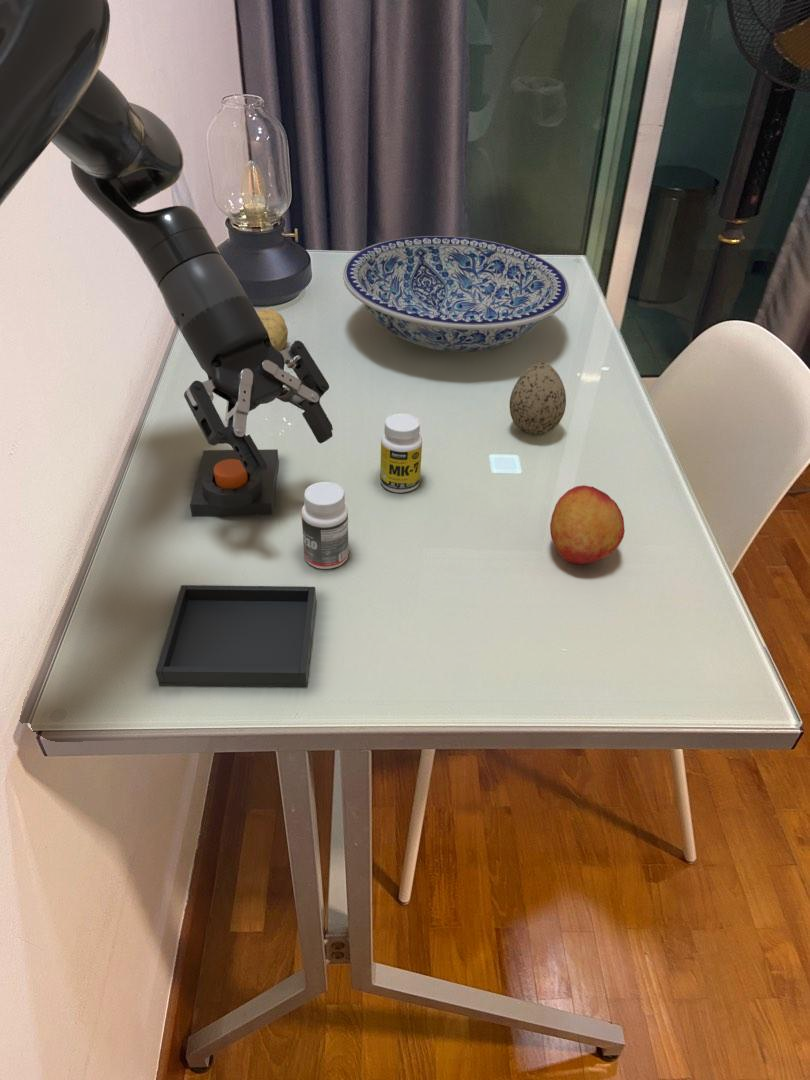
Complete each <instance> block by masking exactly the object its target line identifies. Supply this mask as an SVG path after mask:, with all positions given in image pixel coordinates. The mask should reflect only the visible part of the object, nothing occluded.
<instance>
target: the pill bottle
mask: <svg viewBox="0 0 810 1080" xmlns="http://www.w3.org/2000/svg"><path fill="white" fill-rule="evenodd" d="M303 496H304V501H303V502H304V504H303V506H302V508H301V526H302V529H301V530H302V542H303V543H302V544H303V556H304V559H305V561H306V562H307V563H308V564H309V565H310V566H311V567H314V568H316V569H321V570H322V569H324V570H329V569H335V568H337V567H340V566H341V565H343V564H344V563H345V562H346V561H347V559H348V557H349V553H350V552H349V551H350V550H349V549H350V548H349V511H348V507H347V505H346V500H345V490H344V489H343V487H342V486H341V485H339V484H338V483H335V482H332V481H319V482H315V483H312V484H311V485H309V486H308V487H307V488H306V489H305V490H304V495H303Z"/></svg>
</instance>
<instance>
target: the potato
mask: <svg viewBox="0 0 810 1080" xmlns="http://www.w3.org/2000/svg"><path fill="white" fill-rule="evenodd" d="M256 312H257V314H258V316H259V318H260V320H261V321H262V323H263V325H264V327H265V328H266V330H267V332H268V335H269V339H270V342H271V344H272V346H273V347H274V348H275V349H276V350H278V351H279V352H280V351H282V350H284V347H285V345H286V344H287V341H288V335H289V329H288V327H287V326H288V325H287V324H286V320H285V318H284V317H283V315H281V313H279V312H278V311H276V310H274V309H270V308H264V309H261V310H259V311H256Z"/></svg>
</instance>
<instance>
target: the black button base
mask: <svg viewBox="0 0 810 1080" xmlns="http://www.w3.org/2000/svg"><path fill="white" fill-rule="evenodd" d="M258 450H259V452H260V454H261V455H262V457H263V459H264V460H265V462H266V464H267V469H266V470H265V471H264V472H262V473H261V474H259V475H257V476H255V475H254V474H253V473H252V472H248V471H247V476H248V481H247V483H246V484H245V485H244V486H241V487H238V488H235V489H223V488H221V487H218V486H217V485H216V482H215V476H214V467H215V465H216V464H217V463H219V462H220V461H223V460H227V459H237V460H239V458H238V456H237V455H236V453H235V451H234V449H203V450H202V453H201V458H200V462H199V466H198V470H197V473H196V477H195V478H196V479H195V483H194V487H193V491H192V496H191V499H190V503H189V506H190V512H191V517H231V516H232V517H233V516H235V517H236V516H237V517H238V516H239V517H240V516H273V514H274V505H275V494H276V486H277V479H278V469H279V449H258Z"/></svg>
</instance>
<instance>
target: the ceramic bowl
mask: <svg viewBox="0 0 810 1080" xmlns="http://www.w3.org/2000/svg"><path fill="white" fill-rule="evenodd" d="M342 280H343V283H344V286H345V288H346V289H347V290H348V292H349V293H350V294H351V295H352V296H353V297H354V298H355V299H357V300H358V301H360V302H361V303H362V304H364V306H365V307H366V309H367V310H368V311H369V313H370V314H371V315H372V317H374V319H375V320H376V321H377V322H378V323H379V324H380V325H382V326H383V327H384V328H385V329H387V331H389V332H391V333H392V334H393V335H395V336H397V337H398V338H400V339H403V340H405V341H407V342H409V343H411V344H413V345H417V346H420V347H424V348H428V349H431V350H436V351H442V352H443V351H444V352H455V353H456V352H457V353H469V352H481V351H486V350H487V351H488V350H492V349H495V348H498V347H501V346H502V347H503V346H504V345H507V344H509V343H512V342H514V341H516V340H517V339H520V338H521V337H523V336H524V335H526V334H527V333H528V332H530V331H531V330H533V329H534V328H535V327H536V326H537V325H539V323H540V322H541V321H542V320H544V319H546V318H548V317H550V316H552V315H554V314H556V313H557V312H558V311H560V310H561V309H562V308H563V307H564V306H565V304H566V303H567V301H568V298H569V296H570V286H569V285H570V284H569V282H568V280H567V278H566V277H565V275H564V274H563V273H562V271H560V269H558V268H557V267H556V266H555V265H554V264H552V263H551V262H549V261H547V260H546V259H544V258H542V257H540V256H538V255H536V254H534V253H531V252H528V251H526V250H523V249H521V248H517V247H515V246H511V245H508V244H503V243H501V242H500V243H499V242H495V241H491V240H486V239H479V238H474V237H464V236H451V235H421V236H409V237H402V238H395V239H389V240H386V241H381V242H377V243H375V244H371V245H370V246H367V247H364V248H363V249H360V250H359V251H357V252H355V253H354V254H353V255H351V257H350V258H349V259H348V260H347V261H346V262H345V264H344V266H343V269H342Z"/></svg>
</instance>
